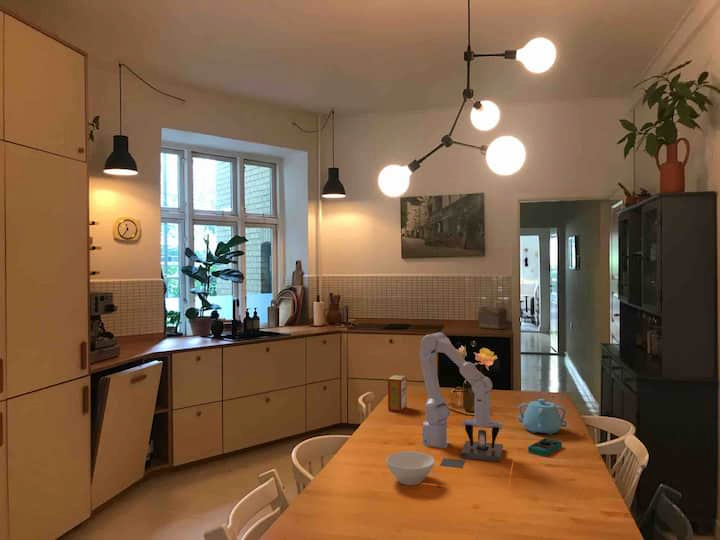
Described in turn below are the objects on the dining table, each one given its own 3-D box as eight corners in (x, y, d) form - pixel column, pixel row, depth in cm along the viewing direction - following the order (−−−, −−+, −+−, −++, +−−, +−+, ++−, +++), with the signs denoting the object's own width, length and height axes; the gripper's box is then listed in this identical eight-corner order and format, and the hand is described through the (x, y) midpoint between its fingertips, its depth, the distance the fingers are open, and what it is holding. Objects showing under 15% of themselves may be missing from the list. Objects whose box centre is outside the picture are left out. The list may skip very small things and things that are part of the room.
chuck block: (460, 459, 198) (460, 452, 198) (466, 447, 211) (466, 440, 211) (500, 463, 193) (500, 456, 193) (503, 450, 206) (503, 444, 206)
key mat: (439, 467, 190) (439, 465, 190) (443, 459, 198) (443, 457, 198) (462, 469, 187) (462, 468, 187) (465, 461, 195) (465, 460, 195)
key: (477, 455, 201) (477, 431, 201) (479, 453, 204) (479, 429, 204) (485, 457, 200) (485, 432, 200) (487, 454, 203) (487, 430, 202)
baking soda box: (400, 412, 262) (400, 379, 262) (388, 410, 264) (388, 378, 264) (406, 407, 271) (406, 375, 270) (394, 406, 273) (393, 374, 273)
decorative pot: (536, 438, 221) (536, 405, 221) (514, 427, 237) (514, 396, 236) (570, 435, 226) (570, 402, 225) (546, 424, 241) (547, 393, 241)
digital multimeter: (562, 448, 210) (562, 440, 210) (545, 458, 200) (545, 450, 200) (544, 444, 216) (544, 436, 216) (527, 453, 205) (527, 445, 205)
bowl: (438, 474, 183) (438, 454, 183) (428, 493, 168) (428, 471, 168) (393, 469, 188) (393, 449, 188) (379, 487, 173) (379, 465, 173)
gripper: (461, 411, 200) (461, 447, 200) (501, 414, 196) (501, 452, 196) (463, 406, 207) (463, 441, 207) (502, 409, 202) (502, 445, 202)
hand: (482, 446), depth 202 cm, fingers open, 7 cm apart
